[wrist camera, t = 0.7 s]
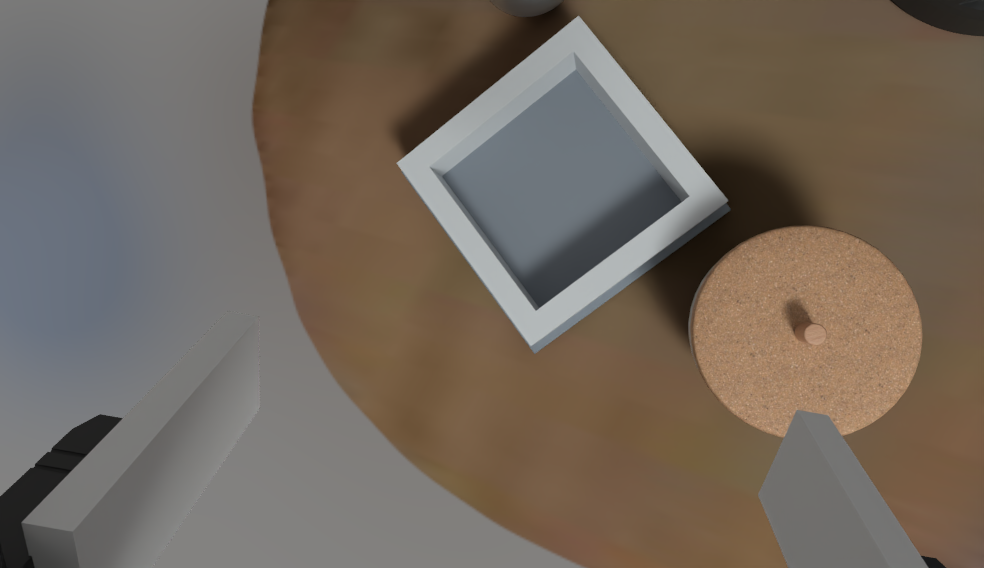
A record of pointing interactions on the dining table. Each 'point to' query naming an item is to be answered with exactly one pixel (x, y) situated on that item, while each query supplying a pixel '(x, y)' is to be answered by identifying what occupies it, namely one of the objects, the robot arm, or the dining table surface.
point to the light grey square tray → (562, 185)
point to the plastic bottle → (526, 6)
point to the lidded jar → (805, 329)
